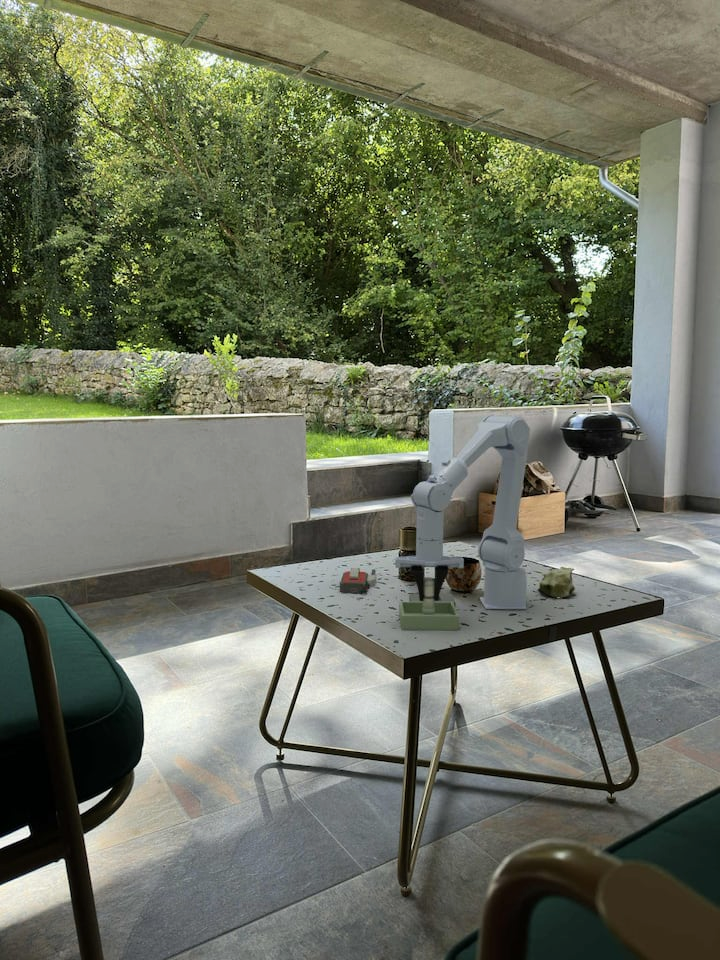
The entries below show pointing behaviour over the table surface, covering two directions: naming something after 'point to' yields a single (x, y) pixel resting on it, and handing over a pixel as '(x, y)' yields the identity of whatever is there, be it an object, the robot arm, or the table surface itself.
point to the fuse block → (441, 599)
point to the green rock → (557, 583)
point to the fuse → (428, 596)
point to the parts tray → (428, 616)
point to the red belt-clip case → (357, 581)
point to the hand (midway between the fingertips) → (428, 599)
